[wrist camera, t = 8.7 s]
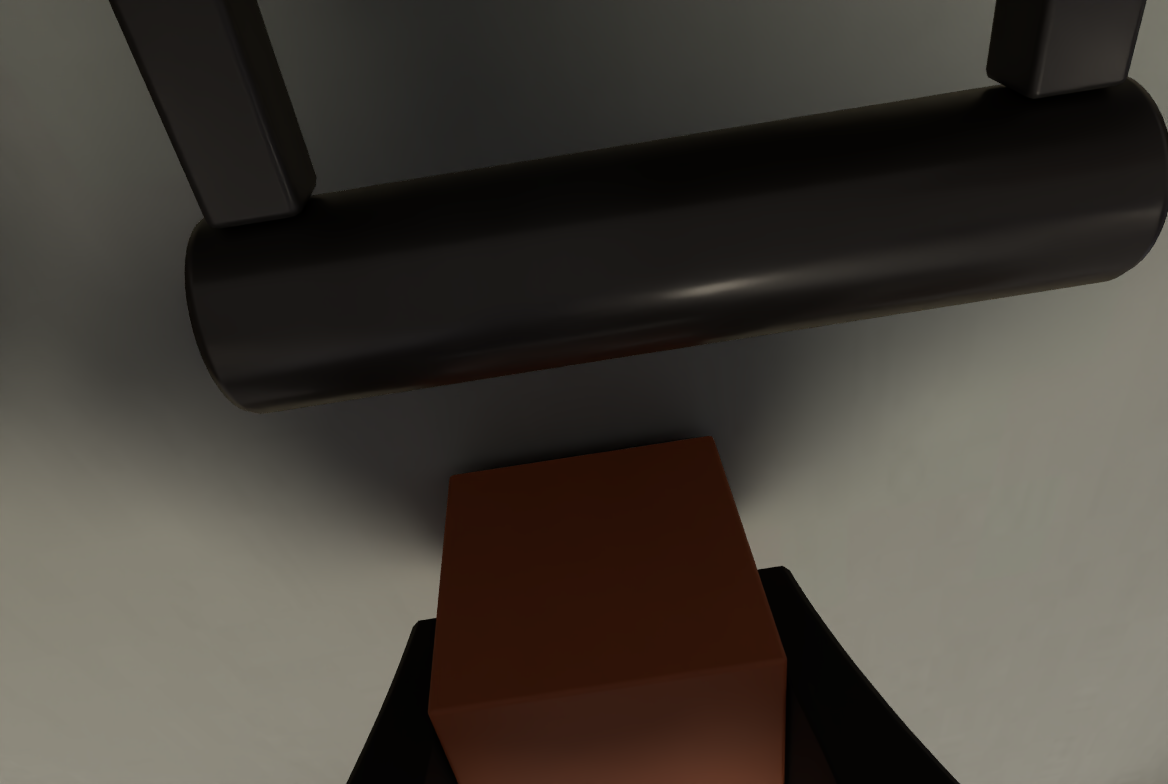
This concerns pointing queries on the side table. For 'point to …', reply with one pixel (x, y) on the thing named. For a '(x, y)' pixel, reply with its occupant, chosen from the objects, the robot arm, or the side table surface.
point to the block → (605, 626)
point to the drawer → (643, 215)
